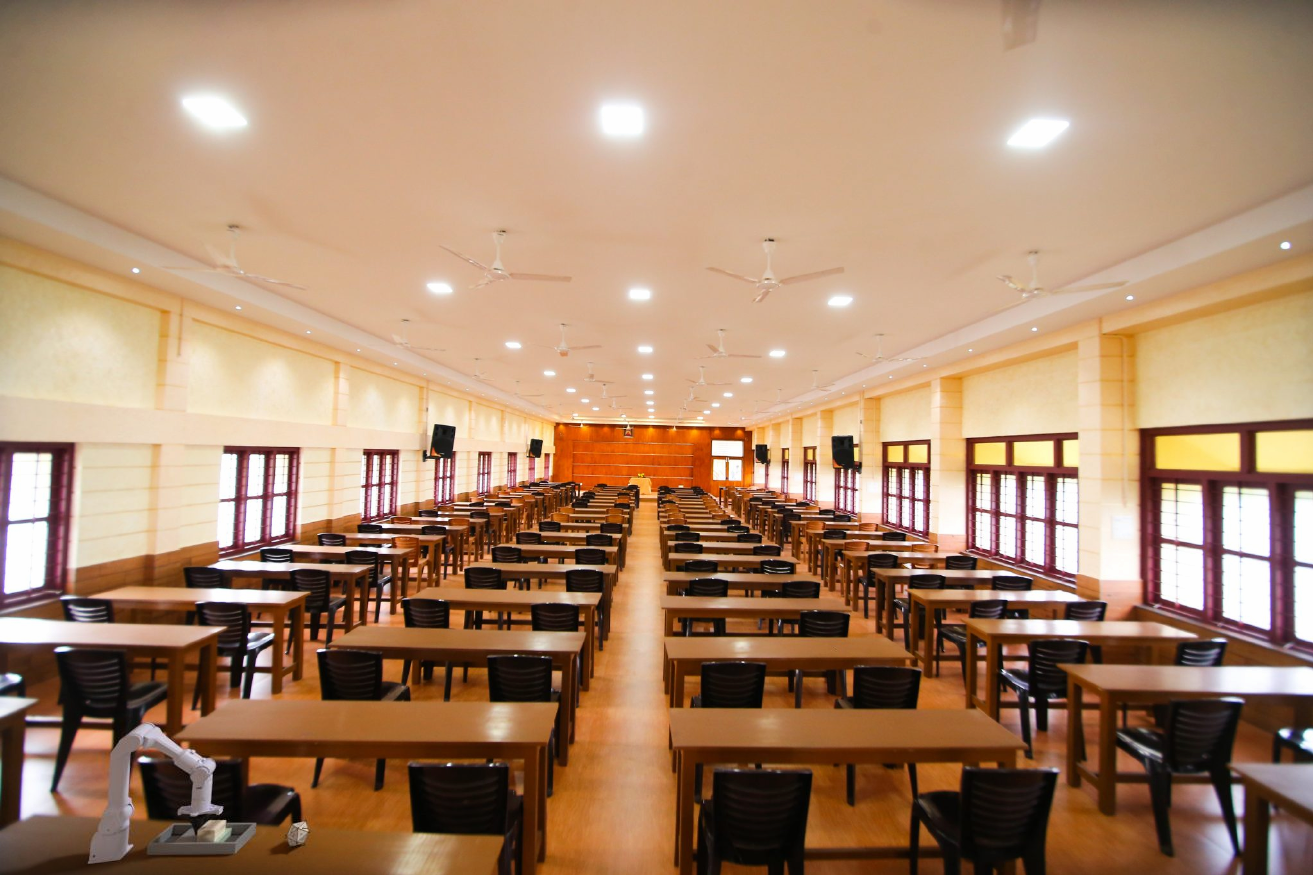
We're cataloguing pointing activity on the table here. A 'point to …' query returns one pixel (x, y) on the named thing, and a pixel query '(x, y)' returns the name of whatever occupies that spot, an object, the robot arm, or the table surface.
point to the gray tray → (185, 842)
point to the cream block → (211, 830)
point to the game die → (297, 833)
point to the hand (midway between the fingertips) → (198, 833)
